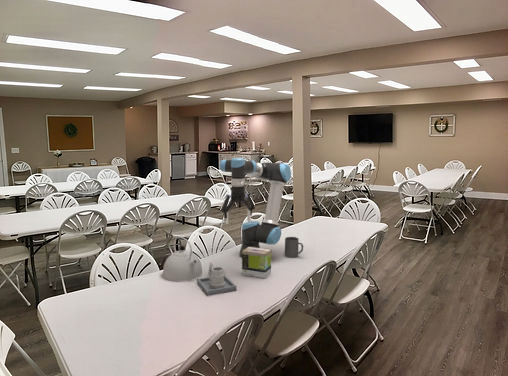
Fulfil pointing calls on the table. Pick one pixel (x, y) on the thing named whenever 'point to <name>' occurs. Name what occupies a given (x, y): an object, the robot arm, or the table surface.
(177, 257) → the kettle
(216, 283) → the mug
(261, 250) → the tea box
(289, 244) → the mug
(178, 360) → the table surface
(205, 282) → the tray
